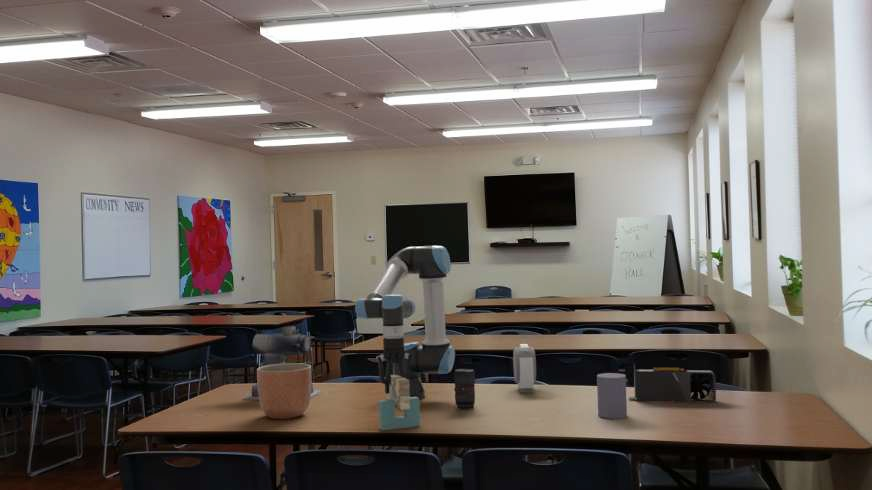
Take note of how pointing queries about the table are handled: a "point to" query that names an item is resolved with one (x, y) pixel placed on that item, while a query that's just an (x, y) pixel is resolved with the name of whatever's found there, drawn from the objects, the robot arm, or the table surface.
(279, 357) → the grinder
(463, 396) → the camera lens
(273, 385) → the planter
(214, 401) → the table surface
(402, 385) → the upper plate
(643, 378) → the graphics card
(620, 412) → the container
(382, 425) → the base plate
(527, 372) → the alarm clock
